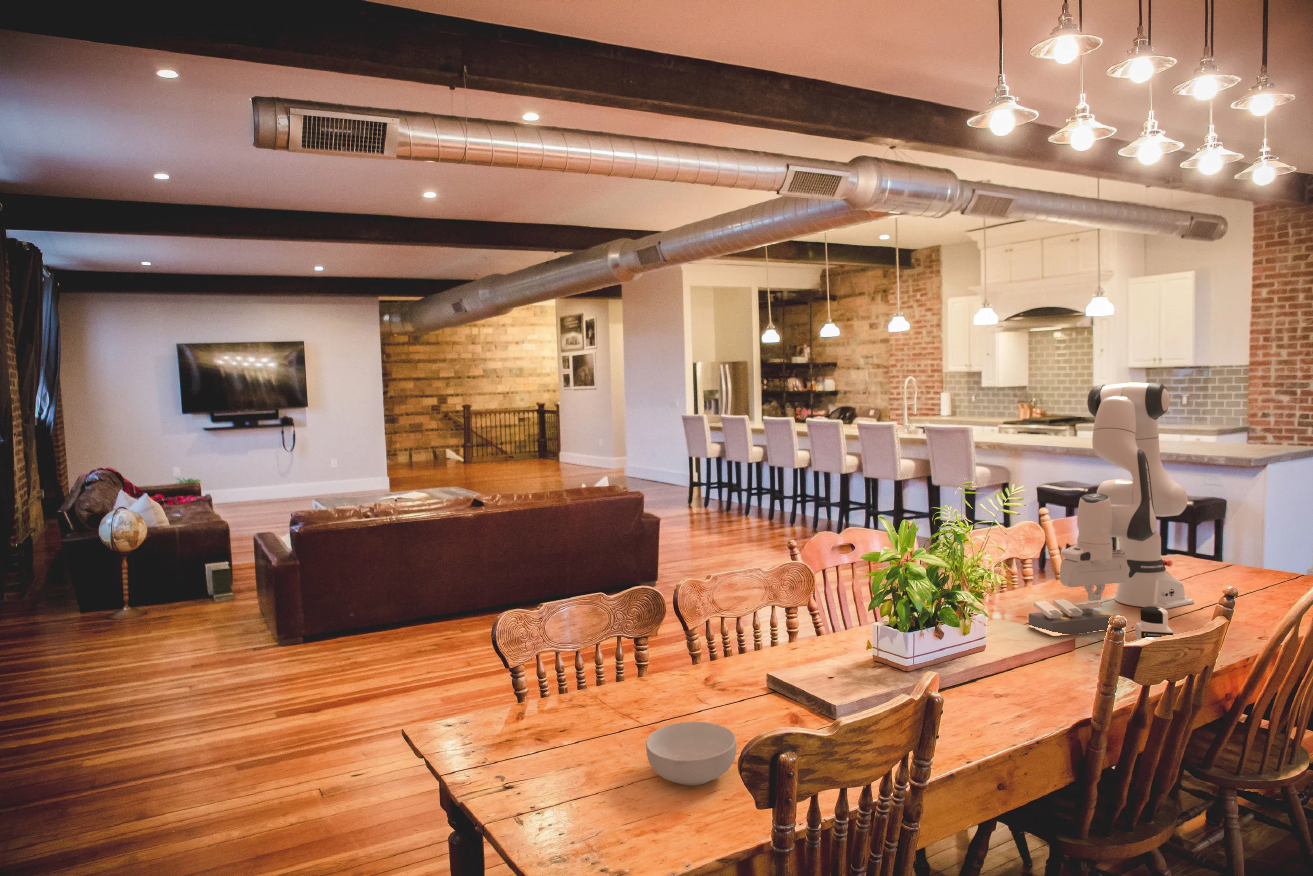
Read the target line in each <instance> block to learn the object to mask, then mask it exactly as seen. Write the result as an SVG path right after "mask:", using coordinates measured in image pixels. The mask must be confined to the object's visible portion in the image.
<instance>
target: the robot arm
mask: <svg viewBox="0 0 1313 876" xmlns="http://www.w3.org/2000/svg"><path fill="white" fill-rule="evenodd" d="M1170 401H1171V398H1170V393H1169V390H1168V388H1167V387H1166V386H1165V384H1163V383H1159V382H1152V381H1150V382H1137V381H1136V382H1134V381H1133V382H1126V383H1125V382H1123V383H1122V382H1121V383H1115V384H1114V383H1113V384H1107V385H1106V384H1101V385H1096V386H1094V387H1092V389H1091V390H1090V391H1089V393H1088V395H1087V408H1088V411H1089V412H1088V413H1090V414H1091V416H1093V418H1094V423H1093V424H1094V425H1093V432H1092V441H1091V442H1092V444H1091V445H1092V449H1093V451H1094V453H1095V454H1096V455H1097V456H1098V457H1099V458H1100V459H1101V460H1103V461H1105V462H1107V463H1109V464H1111V465H1114V466H1117V467H1119V468H1122V469H1124V470H1126V471H1128V472H1129V473H1130V475H1131V478H1132V479H1129V478H1128V479H1127V478H1115V479H1109V480H1108V479H1107V480H1106V479H1105V480H1104V481H1102V482H1101V483H1100V484H1099V485H1098V487H1097V490H1096V493H1095V492H1094V493H1086V494H1083V495H1082V496H1081V497H1080V498H1079V501H1078V507H1077V516H1076V517H1077V518H1076V520H1077V521H1076V526H1077V530H1078V535H1077V538H1076V539H1077V540H1076V542H1077V543H1075V544H1073V545H1071V546H1070V547H1068V548H1065V549H1063V550H1061V553H1060V555H1061V556H1060V557H1061V558H1063V559H1062V561H1061V562H1060V568H1059V581H1060V583H1061V585H1062V586H1064V587H1067V588H1079V587H1084V589H1085V591H1086V593H1087V598H1088V600H1089V601H1092V602H1093V601H1101V600H1102V594H1103V593H1104V591H1105V589H1106V585H1111V584H1117V587H1116V588H1117V589H1116V592H1115V597H1114V601H1116V602H1117V603H1120V604H1124V605H1127V606H1134V607H1141V608H1143V607H1147V606H1153V607H1160V608H1163V609H1165V610H1167V609H1171V608H1177V607H1181V606H1186V605H1191V604H1194V603H1195V602H1194V599H1193V598H1191V597H1189V596H1186V595H1185V594H1186V593H1185V587H1184V584H1183V583H1182V582H1181V580H1179V579H1178V578H1176V577H1175V576H1173V575H1172V574H1171V573H1170V572H1168V571H1167V568H1166V566H1167V567H1169V568H1170V567H1172V565H1174V564H1173V563H1174V562H1173V561H1172V560H1171V559H1167V558H1166V559H1164V560H1163V558H1162V537H1161V535H1160V533H1159V532H1158V531H1157V526H1158V523H1157V517H1162V518H1163V517H1174V516H1180V515H1181V514H1182V513H1183V512H1184V511H1185V510H1186V509H1187V506H1188V502H1189V499H1188V495H1187V492H1186V490H1185V489H1184V487H1183V486H1182V485H1181V484H1179V483H1177V482H1176V481H1175V480H1174V479H1173V478H1172V477H1171V476H1170V475H1169V473H1168V472H1167V470H1166V469H1165V467H1164V465H1163V463H1162V459H1161V452H1160V451H1161V450H1160V438H1159V425H1158V419H1159V418H1160V417H1162V416H1164V415H1165V414H1166V413H1167V412H1168V410H1169V406H1170ZM1113 538H1118V539H1119V542H1120V543H1119V546H1120V549H1117V550H1116V549H1114V548H1113ZM1095 587H1096V589H1095ZM1093 589H1095V591H1094V590H1093Z"/></svg>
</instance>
